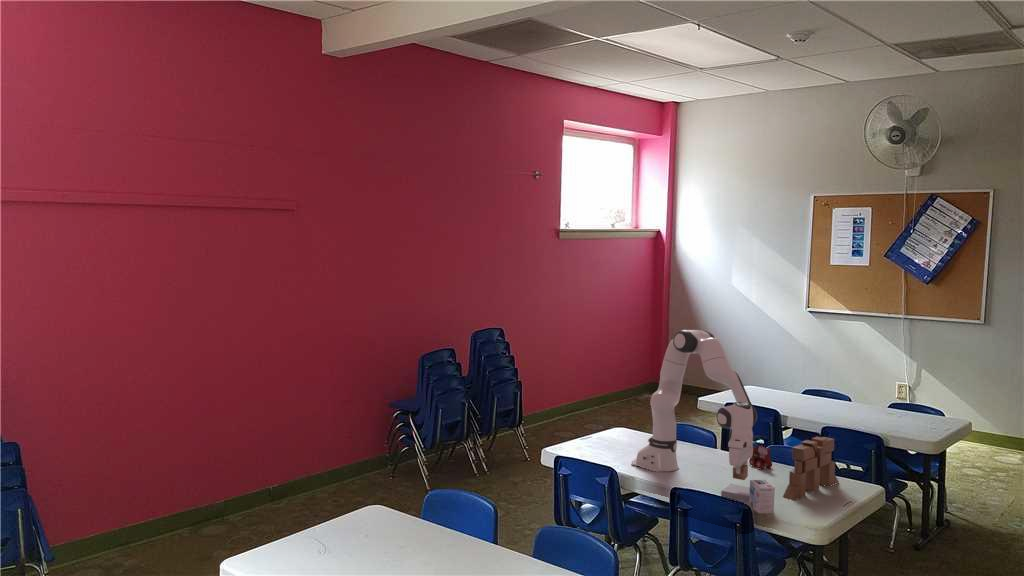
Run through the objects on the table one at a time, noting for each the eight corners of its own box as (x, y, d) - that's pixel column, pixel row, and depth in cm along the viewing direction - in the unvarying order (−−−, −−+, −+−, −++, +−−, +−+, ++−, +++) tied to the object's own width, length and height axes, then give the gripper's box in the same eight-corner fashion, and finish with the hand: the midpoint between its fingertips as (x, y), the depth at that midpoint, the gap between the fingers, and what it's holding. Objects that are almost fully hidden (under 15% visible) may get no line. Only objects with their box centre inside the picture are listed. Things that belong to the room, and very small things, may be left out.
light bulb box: (748, 504, 330) (749, 479, 329) (764, 504, 330) (764, 479, 329) (758, 513, 319) (759, 487, 318) (774, 513, 320) (775, 487, 319)
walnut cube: (732, 478, 340) (732, 467, 340) (736, 474, 344) (736, 463, 344) (744, 480, 338) (744, 469, 337) (747, 476, 342) (747, 465, 341)
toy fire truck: (757, 462, 392) (758, 442, 391) (774, 469, 380) (775, 448, 380) (746, 463, 389) (746, 443, 389) (762, 471, 378) (763, 449, 377)
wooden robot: (824, 479, 367) (826, 431, 366) (842, 483, 361) (844, 434, 359) (780, 497, 340) (781, 445, 339) (798, 502, 334) (800, 449, 332)
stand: (721, 496, 340) (721, 490, 339) (731, 489, 349) (731, 483, 349) (748, 502, 333) (748, 496, 333) (757, 494, 342) (758, 489, 342)
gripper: (742, 434, 350) (742, 464, 351) (726, 443, 333) (725, 475, 334) (757, 436, 346) (756, 467, 347) (741, 446, 329) (740, 478, 330)
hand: (741, 471), depth 340 cm, fingers closed on walnut cube, 5 cm apart
